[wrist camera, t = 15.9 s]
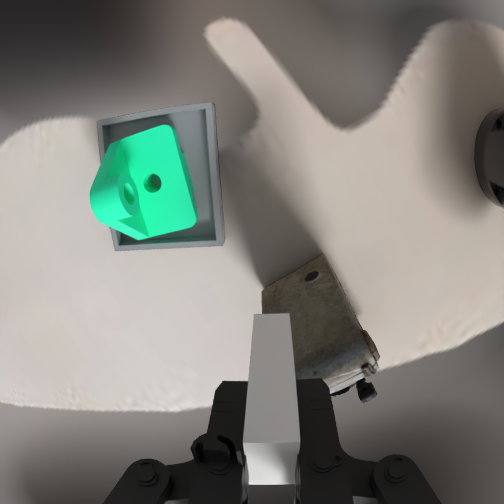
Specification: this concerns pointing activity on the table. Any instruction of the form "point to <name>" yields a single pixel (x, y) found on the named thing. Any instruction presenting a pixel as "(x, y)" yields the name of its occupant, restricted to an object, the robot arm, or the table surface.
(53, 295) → the table surface
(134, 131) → the tray
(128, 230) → the camera mount
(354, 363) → the vintage camera
